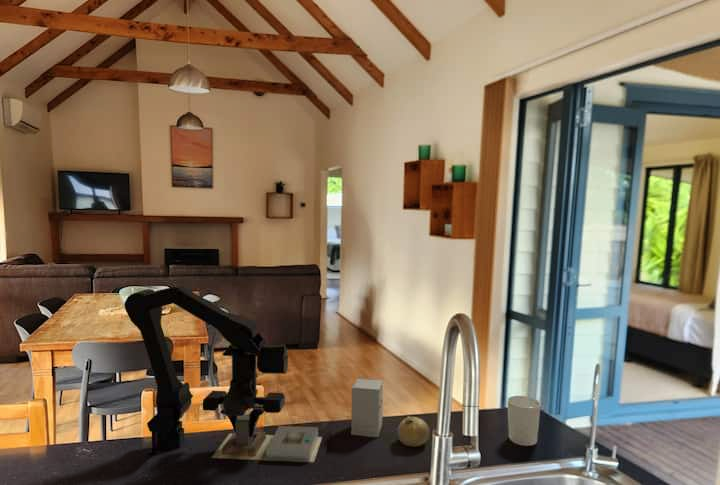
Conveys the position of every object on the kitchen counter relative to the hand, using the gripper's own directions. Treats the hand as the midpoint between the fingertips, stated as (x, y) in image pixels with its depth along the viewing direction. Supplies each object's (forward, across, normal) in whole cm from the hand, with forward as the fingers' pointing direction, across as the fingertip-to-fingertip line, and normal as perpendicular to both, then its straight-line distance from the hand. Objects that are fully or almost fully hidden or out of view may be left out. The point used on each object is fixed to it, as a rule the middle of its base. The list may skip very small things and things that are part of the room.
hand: (244, 435), depth 114 cm
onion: (+4, +41, +7) cm, 42 cm away
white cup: (+4, +69, +11) cm, 70 cm away
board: (+4, +6, 0) cm, 7 cm away
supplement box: (+4, +29, +13) cm, 32 cm away
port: (+4, +12, 0) cm, 12 cm away
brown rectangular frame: (+4, 0, 0) cm, 4 cm away
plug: (+2, 0, 0) cm, 2 cm away
